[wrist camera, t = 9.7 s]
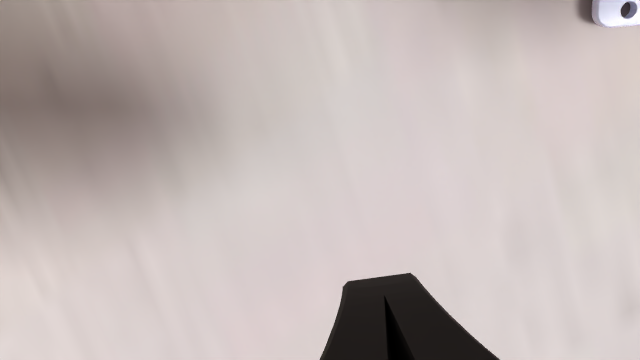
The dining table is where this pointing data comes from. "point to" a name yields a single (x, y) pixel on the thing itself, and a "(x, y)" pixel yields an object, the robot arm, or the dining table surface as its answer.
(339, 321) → the robot arm
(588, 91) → the dining table surface
